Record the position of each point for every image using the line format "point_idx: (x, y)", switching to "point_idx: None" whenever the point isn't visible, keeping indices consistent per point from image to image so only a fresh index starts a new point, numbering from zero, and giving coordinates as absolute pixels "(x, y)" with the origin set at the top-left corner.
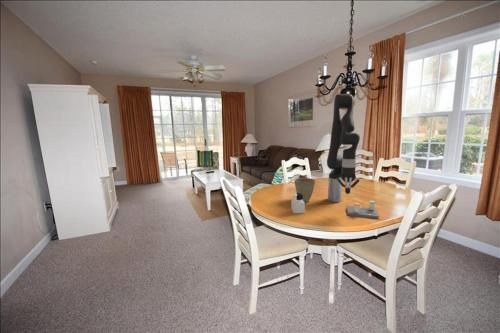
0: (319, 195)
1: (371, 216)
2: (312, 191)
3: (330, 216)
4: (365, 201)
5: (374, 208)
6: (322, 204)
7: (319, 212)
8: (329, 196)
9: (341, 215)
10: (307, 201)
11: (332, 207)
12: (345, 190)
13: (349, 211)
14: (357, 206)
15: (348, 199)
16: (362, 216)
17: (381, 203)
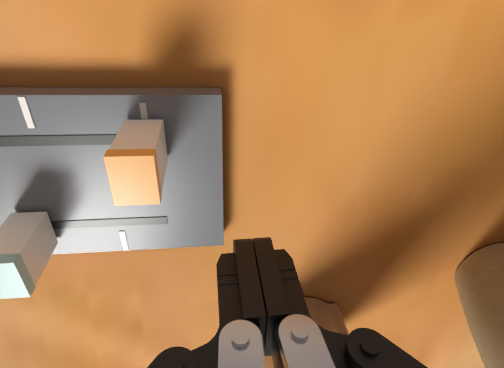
0: None
1: (13, 92)
2: (497, 327)
3: (375, 9)
4: (111, 358)
5: None
6: (383, 242)
7: (448, 80)
8: (338, 331)
9: (274, 67)
10: (476, 253)
11: (323, 212)
12: (294, 281)
13: (208, 134)
14: (130, 146)
15: None
16: (96, 88)
17: (14, 360)
